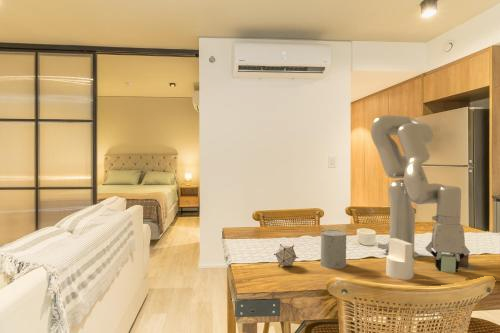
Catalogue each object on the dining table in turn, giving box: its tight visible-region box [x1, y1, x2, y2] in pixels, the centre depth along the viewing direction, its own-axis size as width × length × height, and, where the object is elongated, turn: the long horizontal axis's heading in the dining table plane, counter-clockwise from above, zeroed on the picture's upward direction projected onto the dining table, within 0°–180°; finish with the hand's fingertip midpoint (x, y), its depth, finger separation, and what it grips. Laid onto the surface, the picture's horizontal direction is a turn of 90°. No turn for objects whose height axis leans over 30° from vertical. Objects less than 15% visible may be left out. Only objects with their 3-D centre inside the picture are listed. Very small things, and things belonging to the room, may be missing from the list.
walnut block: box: [449, 253, 470, 267], centre depth 136 cm, size 5×5×6 cm
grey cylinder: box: [320, 229, 348, 270], centre depth 136 cm, size 10×10×12 cm
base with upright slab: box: [385, 237, 415, 281], centre depth 125 cm, size 9×9×12 cm
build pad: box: [458, 262, 477, 271], centre depth 136 cm, size 9×9×1 cm
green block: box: [439, 252, 456, 274], centre depth 130 cm, size 4×4×6 cm
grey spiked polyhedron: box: [273, 243, 299, 269], centre depth 134 cm, size 9×8×10 cm
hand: (446, 269), depth 130 cm, fingers closed on green block, 4 cm apart
